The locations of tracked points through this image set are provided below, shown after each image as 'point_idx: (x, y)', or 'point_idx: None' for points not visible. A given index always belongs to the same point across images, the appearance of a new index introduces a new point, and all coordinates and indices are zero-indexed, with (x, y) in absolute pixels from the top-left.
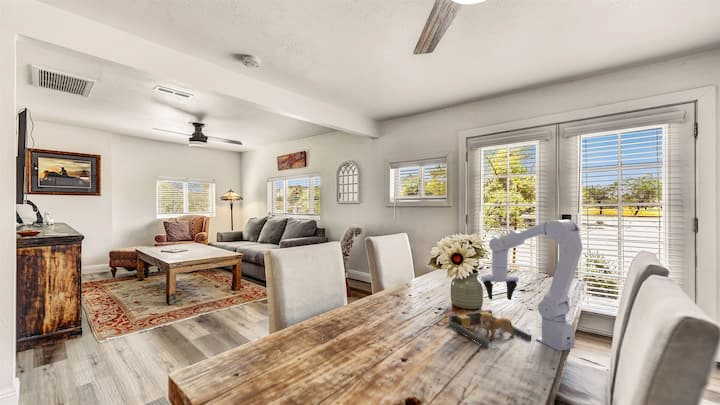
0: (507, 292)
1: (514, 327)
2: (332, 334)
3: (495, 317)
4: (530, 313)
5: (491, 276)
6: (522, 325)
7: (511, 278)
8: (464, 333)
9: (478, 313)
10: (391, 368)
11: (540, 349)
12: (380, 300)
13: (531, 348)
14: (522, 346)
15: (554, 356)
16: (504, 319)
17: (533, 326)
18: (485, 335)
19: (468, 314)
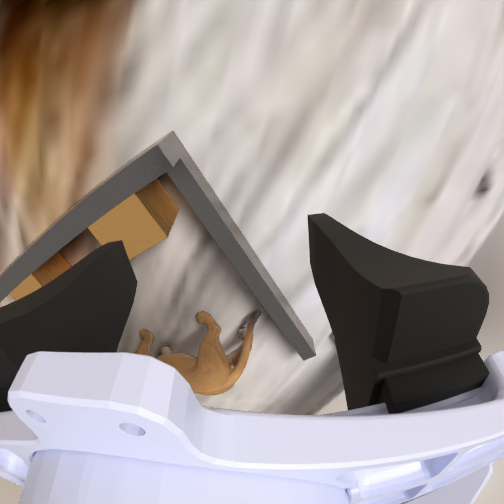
0: (326, 247)
1: (272, 306)
2: None
3: (198, 184)
4: (464, 3)
5: (16, 438)
6: (352, 190)
7: (388, 502)
8: None
9: (85, 228)
10: None
11: (309, 381)
12: None
13: (283, 382)
14: (259, 378)
15: (326, 400)
16: (208, 394)
17: (402, 195)
18: (140, 336)
19: (42, 263)
